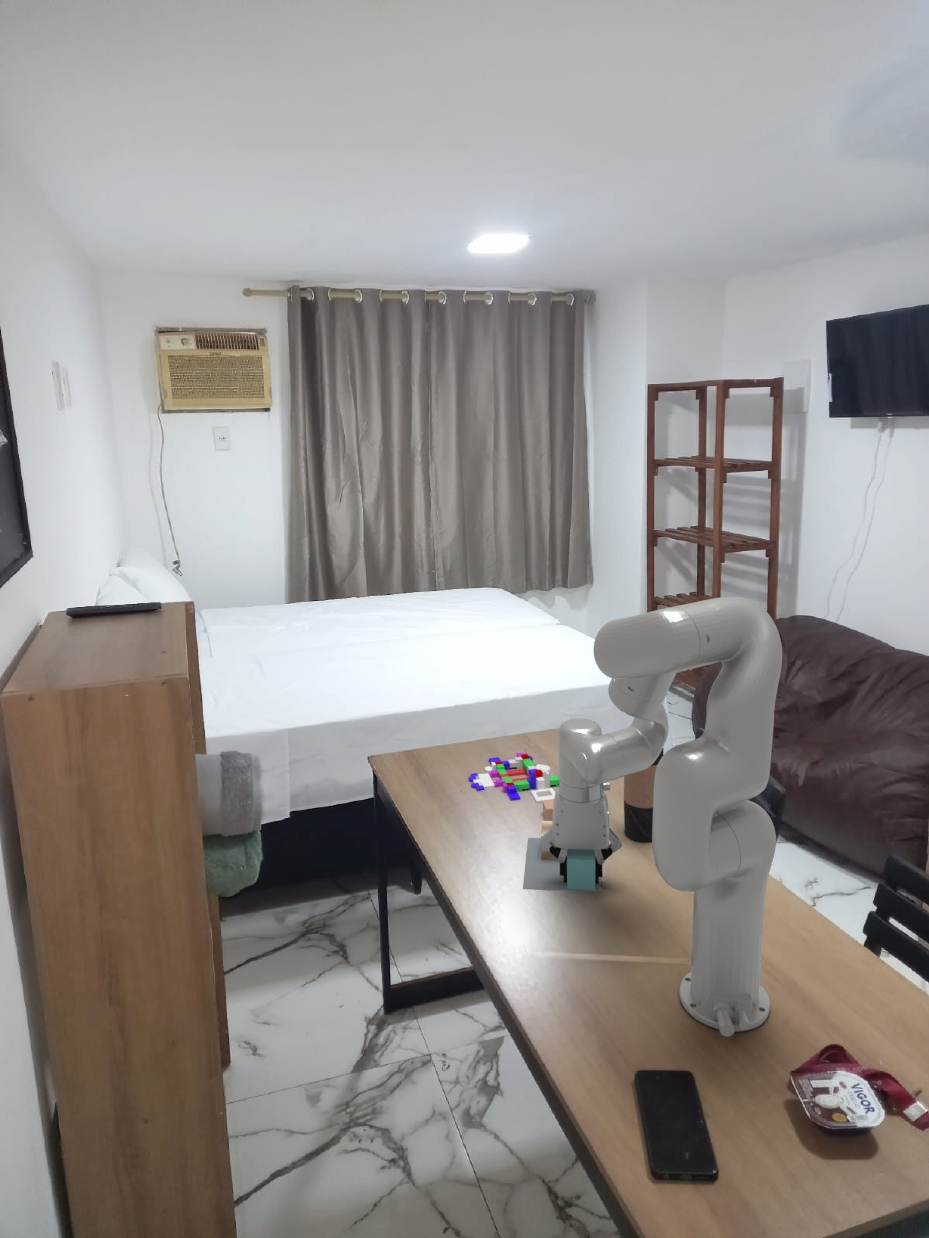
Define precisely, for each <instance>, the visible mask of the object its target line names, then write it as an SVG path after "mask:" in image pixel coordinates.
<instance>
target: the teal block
mask: <svg viewBox="0 0 929 1238" xmlns="http://www.w3.org/2000/svg"><path fill="white" fill-rule="evenodd" d="M567 889H581V890H595V852H594V850H585V849H568V851H567Z"/></svg>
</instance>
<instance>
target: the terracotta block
mask: <svg viewBox="0 0 929 1238" xmlns="http://www.w3.org/2000/svg"><path fill="white" fill-rule="evenodd" d="M553 804H554V800H543V803H542V813H543V817H544V819H545V821H553Z"/></svg>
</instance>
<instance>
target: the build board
mask: <svg viewBox="0 0 929 1238" xmlns="http://www.w3.org/2000/svg"><path fill="white" fill-rule="evenodd" d="M540 839H541V837H528V838H527V846H526V855H525V864H524V874H523V883H522V884H523V885H522V890H538V891H560V892H561V891H564V892H585V893H586V892H589V893H602V887H601V885H602V884H601V877H599V884H596V883H595V890H581V889H567V882H566V883H564V876H560V862H558V860H541V844H540Z"/></svg>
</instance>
